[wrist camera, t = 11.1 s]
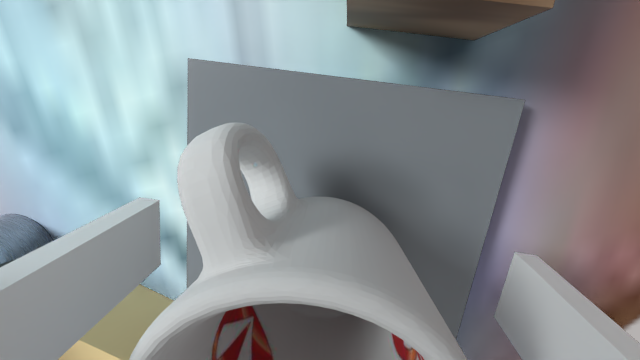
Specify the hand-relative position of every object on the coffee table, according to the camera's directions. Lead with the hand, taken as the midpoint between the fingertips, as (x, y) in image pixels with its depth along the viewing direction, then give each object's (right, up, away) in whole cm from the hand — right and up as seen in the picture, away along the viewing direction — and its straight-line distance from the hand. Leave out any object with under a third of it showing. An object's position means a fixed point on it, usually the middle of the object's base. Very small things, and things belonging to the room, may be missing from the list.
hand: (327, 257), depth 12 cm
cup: (-1, +1, +2) cm, 3 cm away
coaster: (0, +1, +3) cm, 3 cm away
